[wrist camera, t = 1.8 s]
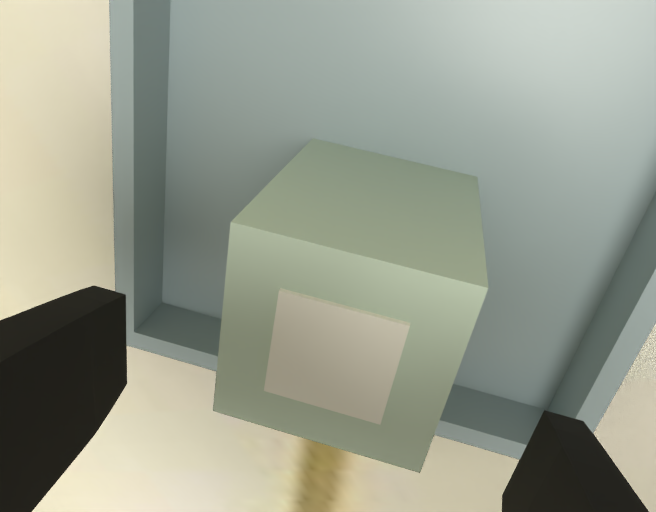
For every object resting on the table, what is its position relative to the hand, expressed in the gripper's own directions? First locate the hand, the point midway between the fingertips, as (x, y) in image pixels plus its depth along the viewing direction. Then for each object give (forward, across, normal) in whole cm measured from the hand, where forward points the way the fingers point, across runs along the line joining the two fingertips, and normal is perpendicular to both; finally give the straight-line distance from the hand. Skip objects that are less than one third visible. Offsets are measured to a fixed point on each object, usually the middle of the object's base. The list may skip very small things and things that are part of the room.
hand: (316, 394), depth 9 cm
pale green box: (+7, 0, 0) cm, 7 cm away
